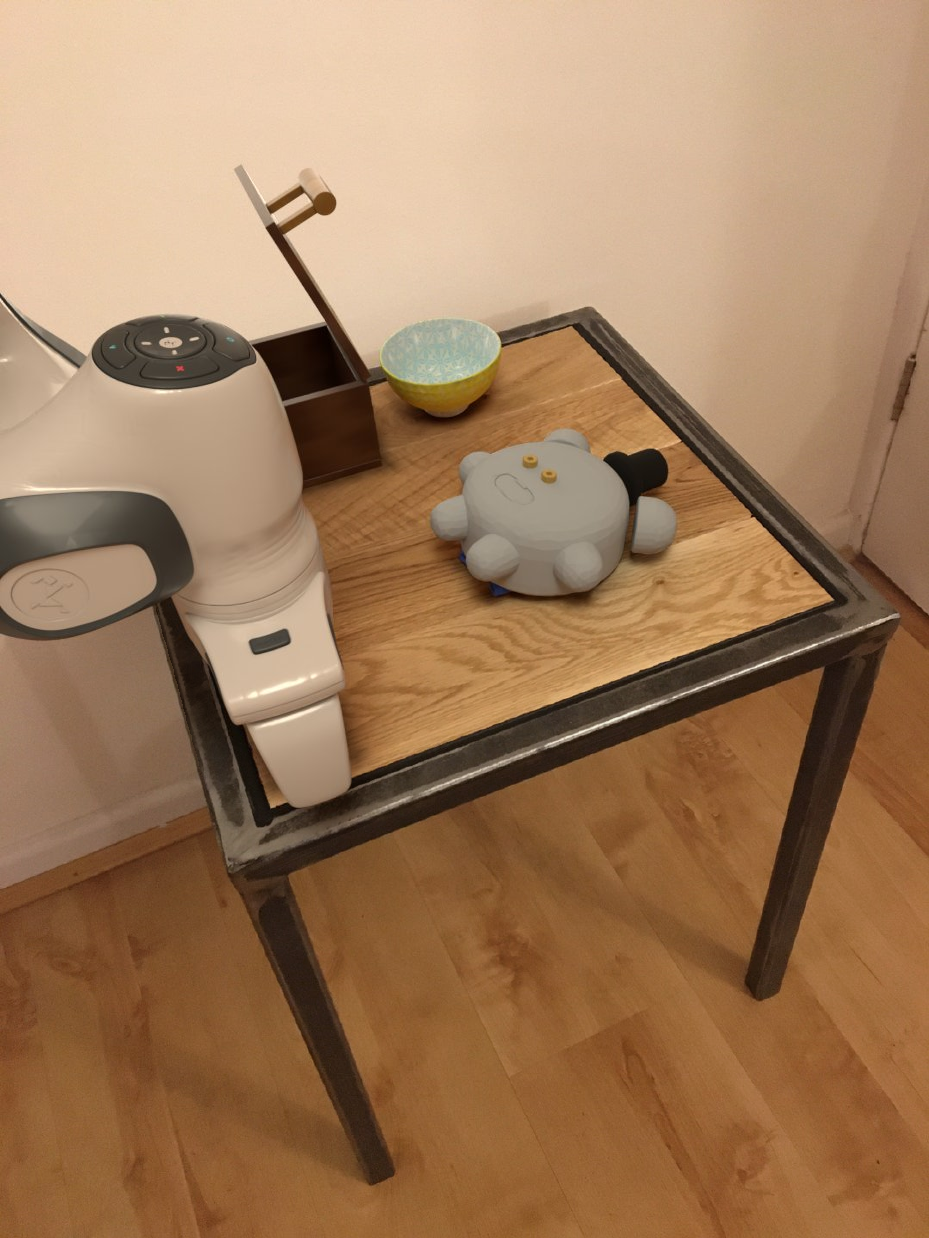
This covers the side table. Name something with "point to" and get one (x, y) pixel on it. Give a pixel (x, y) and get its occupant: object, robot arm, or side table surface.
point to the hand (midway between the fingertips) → (300, 727)
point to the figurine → (554, 514)
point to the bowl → (441, 363)
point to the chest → (322, 402)
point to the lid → (319, 203)
